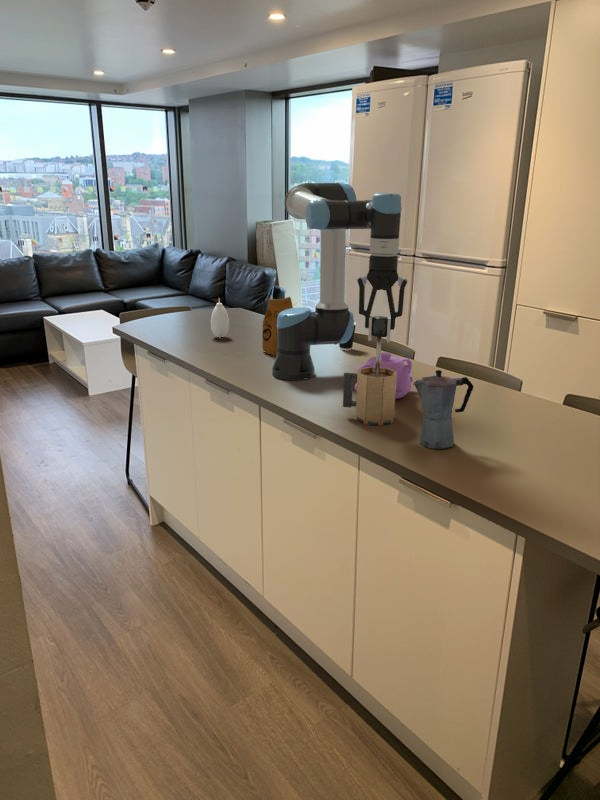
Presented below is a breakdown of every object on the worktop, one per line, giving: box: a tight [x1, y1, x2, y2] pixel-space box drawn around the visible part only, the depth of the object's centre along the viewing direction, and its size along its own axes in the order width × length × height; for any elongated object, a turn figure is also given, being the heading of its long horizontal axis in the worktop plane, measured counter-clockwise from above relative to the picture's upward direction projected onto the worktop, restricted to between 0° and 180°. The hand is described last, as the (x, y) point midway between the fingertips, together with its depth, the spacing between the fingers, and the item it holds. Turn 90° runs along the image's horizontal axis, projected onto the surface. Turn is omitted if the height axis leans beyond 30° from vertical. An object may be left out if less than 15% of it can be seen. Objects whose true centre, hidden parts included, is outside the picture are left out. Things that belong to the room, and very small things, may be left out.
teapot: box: [354, 351, 414, 400], centre depth 192 cm, size 22×22×14 cm
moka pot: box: [412, 369, 474, 450], centre depth 156 cm, size 10×15×20 cm, turn 95°
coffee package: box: [261, 296, 294, 356], centre depth 242 cm, size 10×12×22 cm
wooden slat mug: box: [342, 367, 397, 427], centre depth 174 cm, size 15×11×14 cm
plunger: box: [366, 315, 389, 377], centre depth 169 cm, size 8×8×18 cm
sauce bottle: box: [210, 298, 230, 338], centre depth 265 cm, size 8×8×18 cm
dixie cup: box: [338, 321, 357, 352], centre depth 249 cm, size 8×8×11 cm
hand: (379, 340), depth 168 cm, fingers closed on plunger, 4 cm apart
